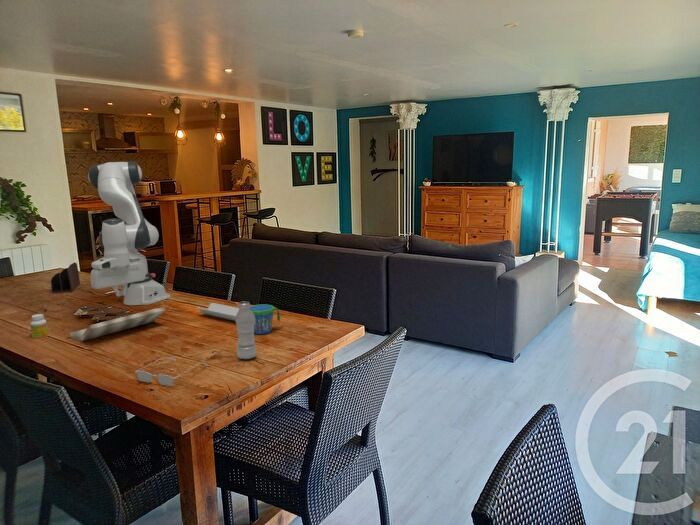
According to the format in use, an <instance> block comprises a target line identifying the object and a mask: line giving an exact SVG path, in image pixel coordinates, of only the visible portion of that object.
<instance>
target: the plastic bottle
mask: <svg viewBox="0 0 700 525" xmlns="http://www.w3.org/2000/svg"><path fill="white" fill-rule="evenodd" d="M250 306H251V305H250V301H247V300H246V301H245V300H244V301H239V302H238V306H237V308H239V311H238V313H237V315H236V317H235V320H236V321H235V324H236V329H237V330H236V331H237V349H236V355H237V357H238V358H239V359H241V360H251V359H254V358H255V357H256V355H257V345H256V341H255V340H256V339H255V333H254V322H255V316H254V314H253V312H252V311H251V310H250Z"/></svg>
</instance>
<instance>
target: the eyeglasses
mask: <svg viewBox="0 0 700 525" xmlns="http://www.w3.org/2000/svg"><path fill="white" fill-rule="evenodd" d="M164 359H168V360H171V361H172V362H177V361H178V359H175V358H172V357H161V358H158V359H157V360H155V361H153V362H151V363H149V364H147V365H146V366H144V367H141V368H140V369H137V370H135V371H134V374H136V376H137V378H138V380H139V381H140V382H144V383H149V384H150V383H151V382H152V380H154V377H156V379H157V382H158V383H159V385H161V386H167V387H171V386H172V385H173V381H174V380H176V379H178V378H179V377H180V376H181V375H183V374H185V373H186V372H188V371H190V370H191V369H193V368H195V367H196V366H198V365H199V364H202V365H204V366H205V367H208V366H209V363H207V362H199V363H197V364H195V365H194V366H193V367H191V368H189V369H188V370H187V371H185V372H183V373H181V374H178V375H176V376H175V377H172V376H171V375H167V374H152V373H150V372H147V371H144V370H143V369H144V368H145V367H149V366H150V365H151V364H153V363H156V362H157V361H160V360H164Z"/></svg>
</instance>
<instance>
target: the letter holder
mask: <svg viewBox="0 0 700 525" xmlns="http://www.w3.org/2000/svg"><path fill="white" fill-rule="evenodd" d="M80 285H81V281H80V275H79V269H78V264H77V262H73V263H71V264H69V266H68V267H66V268H64V269H63V270H61V271H60V272H58V273H56V274H54V275H52V277H51V279H50V286H51V294H52V293H53V294H64V293H72V292H73V291H75V290H76V289H77V288H78V286H80Z"/></svg>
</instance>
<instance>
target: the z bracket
mask: <svg viewBox="0 0 700 525" xmlns="http://www.w3.org/2000/svg"><path fill="white" fill-rule="evenodd" d="M196 309H197V310H199V311H200V312H201V313H203V315H207V316H211V317H215V318H221V319H225V320H229V321H232V322H233V321H234V322H236V320H235V317H236V315H237V313H238V311H239V308H238V307H235V306H231V305H226V304H221V303H215V302H211V303H210V304H209V305H208V308H203V307H199V306H196Z"/></svg>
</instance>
